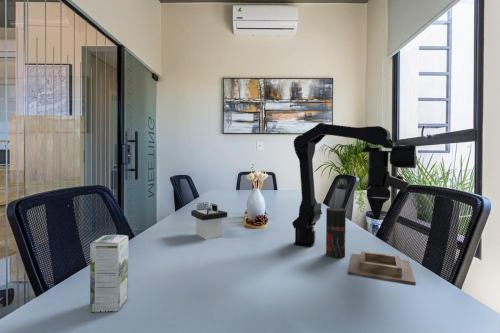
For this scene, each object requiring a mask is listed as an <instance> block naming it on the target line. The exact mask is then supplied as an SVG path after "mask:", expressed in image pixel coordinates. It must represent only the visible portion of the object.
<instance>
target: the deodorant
mask: <svg viewBox="0 0 500 333" xmlns="http://www.w3.org/2000/svg"><path fill="white" fill-rule="evenodd" d="M346 210H347V209H345V208H342V207H327V208H326V215H325V216H326V218H325V219H326V223H325V224H326V225H325V226H326V227H325V228H326V232H325V236H326V237H325V254H326V256H327V257H329V258H333V259H343V258H345V257H346V217H347V216H346V213H347V212H346Z"/></svg>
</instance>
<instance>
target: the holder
mask: <svg viewBox="0 0 500 333" xmlns="http://www.w3.org/2000/svg"><path fill="white" fill-rule="evenodd" d="M347 274H348V275H353V276H359V277H366V278H372V279H373V278H374V279H379V280H384V281H389V282H390V281H392V282H397V283H403V284H404V283H405V284H410V285H416V284H417V283H416V279H415V276H414V273H413V269H412V267H411V264H410V261H409V260H405V259H401V258H400V256H399V255H394V254H386V253H380V252H371V251H364V250H362V251H361V252H360V253H351V258H350V262H349V266H348V270H347Z"/></svg>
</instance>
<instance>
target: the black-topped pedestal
mask: <svg viewBox="0 0 500 333" xmlns="http://www.w3.org/2000/svg"><path fill="white" fill-rule="evenodd" d="M209 203H210V202H209V201H207V202H206V201H205V202H196V204H195V209H192V210H191V211H190V216H191V217H193V218H195V225H196V226H195V233H196V234H197V235H196V236H198V235H199V236H198V237H200V236H201V237H202V238H201V237H200V238H201V239H203V238H204V239H203V240H205V239H207V240H211V239H210V238H212V239H217V238H216V237H218V238H222V237H223V225H222V224H223V221H222V220H223V219H225V218H228V211H223V210H219V204H215V203H212V202H211V203H210V204H209Z"/></svg>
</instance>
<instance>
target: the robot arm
mask: <svg viewBox="0 0 500 333" xmlns="http://www.w3.org/2000/svg"><path fill="white" fill-rule="evenodd" d="M325 136H334V137H341V138H347V139H355V140H359V141H362V142H365V143H368V144H366V146H365V147H364V148H363V149H362V150H361V152H362V153H368V159H367V160H368V163H367V183H366V188H365V190H366V199H367V202H368V205H369V207H370V209H371V212H372V213H371V214H372V216H373V218H374V220H377V221H379V220H380V217H381V213H382V211H383V210H382V209H383V207H384V206H383V205H384V204H385V203H386V202H388V201H389V200H390V198H391V193H392V192H391V190H390V189H389V188H393V189H396V190H398V191H400V192H402V193H406V190H407V189H408V187H409V184H410V182H408V181H406V180H404V177H403V176H402V175H399V174H397V175H395V176H392V175H390V173H391V172H390V171H389V164H390V165H393V168H395V169H397V168H398V169H416V168H417V164H418V163H417V162H418V160H417V159H418V156H417V149H416V148H417V146H416V145H415V144H408V145H396V142H394V140H392V139H391V137H392V135H391V133H390V131H389V129H387V128H386V127H383V126H380V125H373V126H372V125H371V126H362V127H355V126H348V125H339V124H329V123H324V122H319V123H318V124H316V125H314V127H311V128H310V129H309V130H307V131H305V132H304V133H303V134H298V135H297V136H296V137H295V139H294V140H293V148H294V152H295V154H296V156H297V159H298V161H299V172H300V173H299V174H300V186H301V187H300V188H301V201H300V205H299V209H298V217H297V218H295V219H294V220H293V221H292V222H291V223H292V226H293V229H295V230H294V231H295V232H294V239H295V240H294V242H293V245H296V246H304V247H313V245H314V244H315V243H316V231H315V225H316V224H317V222H318V221H319V220H321V217H322V215H323V212H322V203H321V202H317V200H316V194H315V193H316V190H315V180H314V165H313V163H314V162H313V158H314V155H315V153H316V145H317V144H319V143H320V142H321V141H322V139H324V138H325ZM369 144H371V145H375V147H373V146H371V145H369ZM376 146H378V147H376ZM380 146H382V147H383V148H385V149H390V150H383V149H382V147H380Z"/></svg>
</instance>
